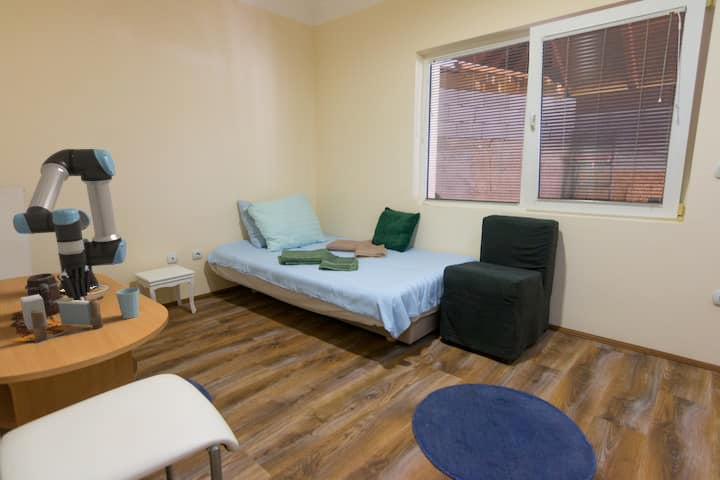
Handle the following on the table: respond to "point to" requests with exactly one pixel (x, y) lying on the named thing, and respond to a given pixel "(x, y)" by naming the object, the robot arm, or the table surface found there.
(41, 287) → the mug
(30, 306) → the small box
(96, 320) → the posts
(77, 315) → the white thick panel
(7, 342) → the table surface
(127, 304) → the cup
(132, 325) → the table surface
